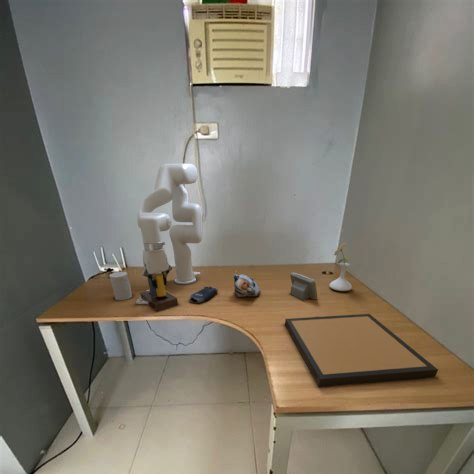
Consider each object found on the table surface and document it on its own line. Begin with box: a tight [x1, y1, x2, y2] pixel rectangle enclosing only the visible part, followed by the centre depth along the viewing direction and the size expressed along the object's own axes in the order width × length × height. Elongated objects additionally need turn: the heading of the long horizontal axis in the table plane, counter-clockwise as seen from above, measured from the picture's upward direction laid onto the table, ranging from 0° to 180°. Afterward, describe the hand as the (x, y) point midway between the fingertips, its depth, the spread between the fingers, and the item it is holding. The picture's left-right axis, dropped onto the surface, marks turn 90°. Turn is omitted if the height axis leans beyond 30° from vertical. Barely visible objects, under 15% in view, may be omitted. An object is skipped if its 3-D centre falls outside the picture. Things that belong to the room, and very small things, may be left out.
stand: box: [139, 289, 179, 312], centre depth 123 cm, size 11×18×4 cm, turn 40°
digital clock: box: [289, 272, 318, 301], centre depth 127 cm, size 16×9×11 cm, turn 20°
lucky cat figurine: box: [233, 272, 262, 298], centre depth 127 cm, size 15×12×14 cm
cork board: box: [284, 313, 439, 388], centre depth 88 cm, size 36×3×35 cm
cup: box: [109, 271, 133, 301], centre depth 127 cm, size 8×8×12 cm
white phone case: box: [136, 289, 150, 305], centre depth 128 cm, size 7×1×15 cm
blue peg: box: [147, 272, 157, 296], centre depth 123 cm, size 4×4×15 cm
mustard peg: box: [155, 272, 167, 297], centre depth 117 cm, size 4×4×10 cm
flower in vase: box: [329, 242, 353, 292], centre depth 130 cm, size 13×11×25 cm
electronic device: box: [189, 286, 219, 303], centre depth 127 cm, size 9×6×15 cm
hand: (160, 285), depth 117 cm, fingers closed on mustard peg, 4 cm apart
